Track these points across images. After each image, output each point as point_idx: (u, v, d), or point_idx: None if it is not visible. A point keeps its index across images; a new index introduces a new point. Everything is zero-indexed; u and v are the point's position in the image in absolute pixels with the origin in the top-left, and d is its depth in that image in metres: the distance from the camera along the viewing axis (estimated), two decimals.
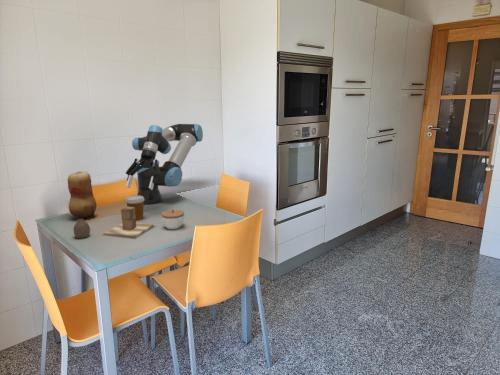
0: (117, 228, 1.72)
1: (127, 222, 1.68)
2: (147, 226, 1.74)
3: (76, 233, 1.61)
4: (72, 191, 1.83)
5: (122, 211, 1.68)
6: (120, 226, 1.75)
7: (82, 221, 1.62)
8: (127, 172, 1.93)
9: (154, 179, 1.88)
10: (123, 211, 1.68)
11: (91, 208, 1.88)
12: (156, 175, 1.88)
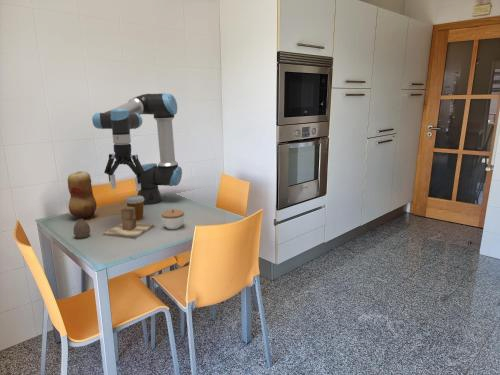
0: (117, 228, 1.72)
1: (127, 222, 1.68)
2: (147, 226, 1.74)
3: (76, 233, 1.61)
4: (72, 191, 1.83)
5: (122, 211, 1.68)
6: (120, 226, 1.75)
7: (82, 221, 1.62)
8: (106, 172, 1.67)
9: (139, 180, 1.63)
10: (123, 211, 1.68)
11: (91, 208, 1.88)
12: (140, 175, 1.63)
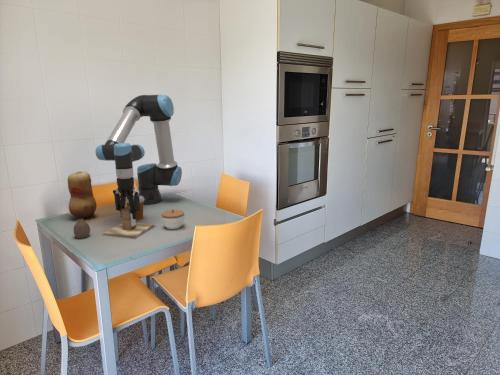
0: (117, 228, 1.72)
1: (127, 222, 1.68)
2: (147, 226, 1.74)
3: (76, 233, 1.61)
4: (72, 191, 1.83)
5: (122, 211, 1.68)
6: (120, 226, 1.75)
7: (82, 221, 1.62)
8: (117, 208, 1.70)
9: (134, 216, 1.69)
10: (123, 211, 1.68)
11: (91, 208, 1.88)
12: (134, 212, 1.68)
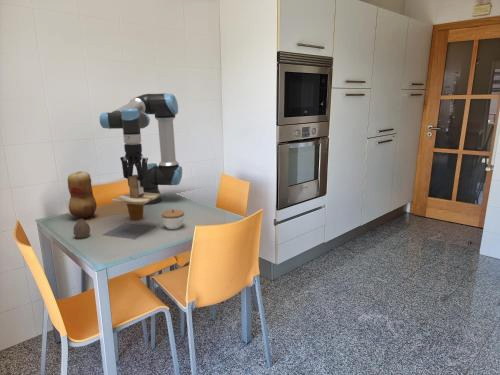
0: (124, 196, 1.69)
1: (134, 190, 1.66)
2: (155, 195, 1.72)
3: (76, 233, 1.61)
4: (72, 191, 1.83)
5: (129, 178, 1.65)
6: (127, 195, 1.72)
7: (82, 221, 1.62)
8: (125, 176, 1.67)
9: (141, 183, 1.66)
10: (130, 178, 1.65)
11: (91, 208, 1.88)
12: (142, 179, 1.65)
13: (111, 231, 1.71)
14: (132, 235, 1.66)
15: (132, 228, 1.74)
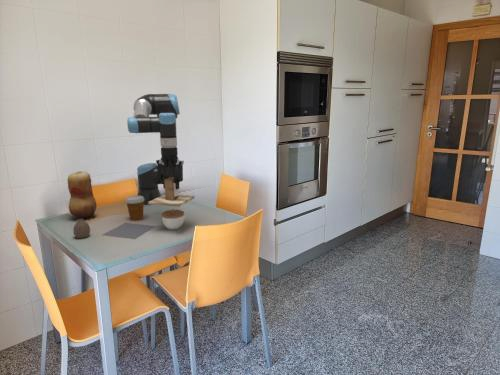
0: (159, 198, 1.73)
1: (170, 192, 1.69)
2: (189, 197, 1.75)
3: (76, 233, 1.61)
4: (72, 191, 1.83)
5: (165, 181, 1.69)
6: (162, 197, 1.75)
7: (82, 221, 1.62)
8: (160, 178, 1.71)
9: (177, 186, 1.70)
10: (166, 181, 1.69)
11: (91, 208, 1.88)
12: (178, 182, 1.69)
13: (111, 231, 1.71)
14: (132, 235, 1.66)
15: (132, 228, 1.74)
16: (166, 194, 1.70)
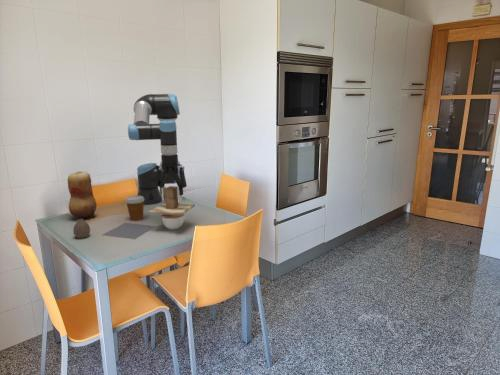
0: (160, 207, 1.74)
1: (171, 201, 1.70)
2: (189, 205, 1.76)
3: (76, 233, 1.61)
4: (72, 191, 1.83)
5: (166, 190, 1.70)
6: (162, 206, 1.77)
7: (82, 221, 1.62)
8: (158, 184, 1.72)
9: (181, 192, 1.70)
10: (167, 190, 1.70)
11: (91, 208, 1.88)
12: (182, 187, 1.69)
13: (111, 231, 1.71)
14: (132, 235, 1.66)
15: (132, 228, 1.74)
16: (167, 203, 1.71)
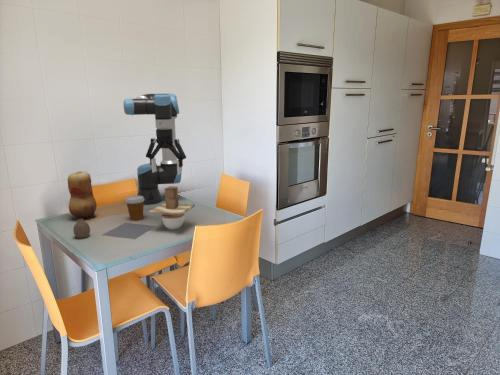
0: (160, 207, 1.74)
1: (171, 201, 1.70)
2: (189, 205, 1.76)
3: (76, 233, 1.61)
4: (72, 191, 1.83)
5: (166, 190, 1.70)
6: (162, 206, 1.77)
7: (82, 221, 1.62)
8: (147, 156, 1.73)
9: (180, 163, 1.70)
10: (167, 190, 1.70)
11: (91, 208, 1.88)
12: (181, 158, 1.69)
13: (111, 231, 1.71)
14: (132, 235, 1.66)
15: (132, 228, 1.74)
16: (167, 203, 1.71)
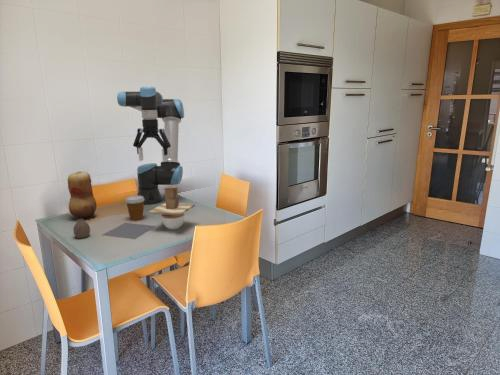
0: (160, 207, 1.74)
1: (171, 201, 1.70)
2: (189, 205, 1.76)
3: (76, 233, 1.61)
4: (72, 191, 1.83)
5: (166, 190, 1.70)
6: (162, 206, 1.77)
7: (82, 221, 1.62)
8: (135, 145, 1.83)
9: (165, 151, 1.80)
10: (167, 190, 1.70)
11: (91, 208, 1.88)
12: (166, 147, 1.79)
13: (111, 231, 1.71)
14: (132, 235, 1.66)
15: (132, 228, 1.74)
16: (166, 203, 1.71)
